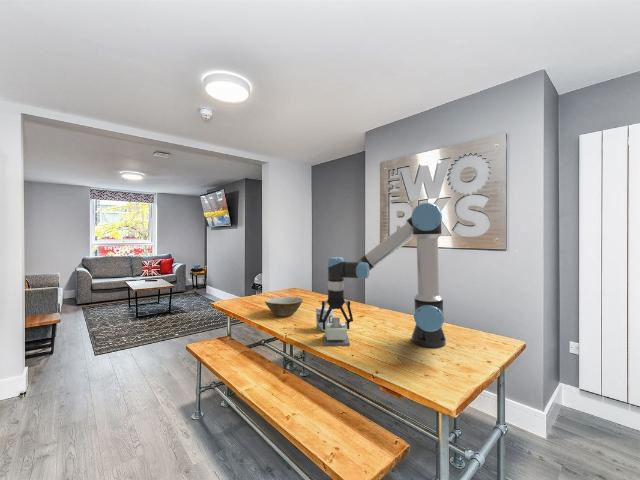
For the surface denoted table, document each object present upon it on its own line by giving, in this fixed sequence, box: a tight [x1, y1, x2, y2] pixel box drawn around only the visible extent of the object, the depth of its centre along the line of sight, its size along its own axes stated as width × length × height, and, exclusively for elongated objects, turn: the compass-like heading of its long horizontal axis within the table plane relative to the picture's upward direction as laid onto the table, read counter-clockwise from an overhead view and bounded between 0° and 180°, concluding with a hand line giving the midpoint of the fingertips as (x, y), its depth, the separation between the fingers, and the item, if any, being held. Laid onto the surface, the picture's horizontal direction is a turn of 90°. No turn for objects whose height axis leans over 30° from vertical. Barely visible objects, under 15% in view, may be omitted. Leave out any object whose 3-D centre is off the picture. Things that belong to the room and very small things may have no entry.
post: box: [322, 316, 351, 347], centre depth 145 cm, size 12×12×11 cm
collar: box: [327, 322, 346, 340], centre depth 145 cm, size 9×9×5 cm
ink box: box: [315, 305, 334, 333], centre depth 161 cm, size 9×5×12 cm, turn 47°
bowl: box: [264, 296, 304, 317], centre depth 190 cm, size 24×24×10 cm
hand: (336, 335), depth 145 cm, fingers closed on collar, 9 cm apart
